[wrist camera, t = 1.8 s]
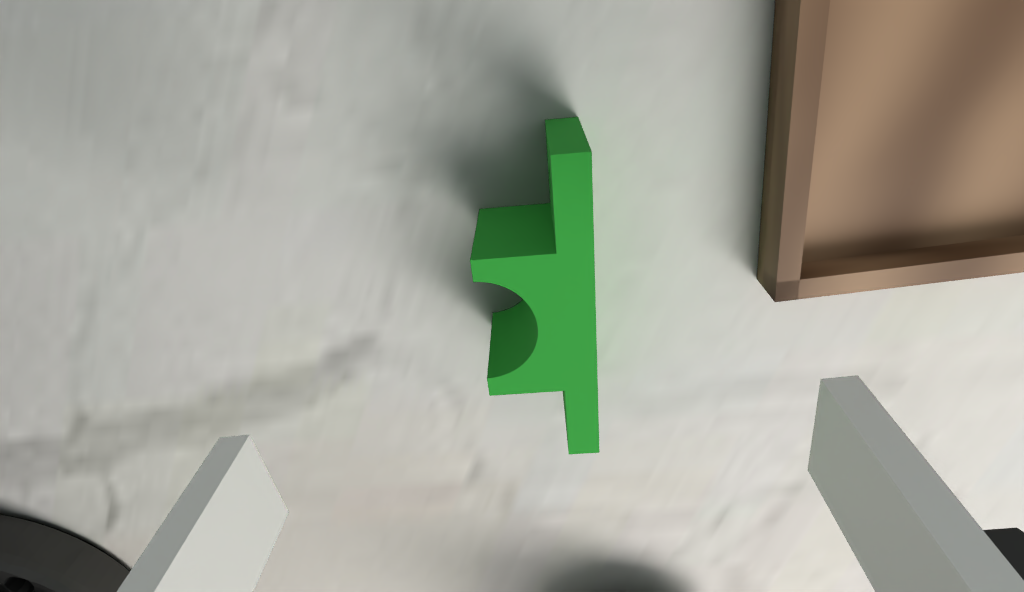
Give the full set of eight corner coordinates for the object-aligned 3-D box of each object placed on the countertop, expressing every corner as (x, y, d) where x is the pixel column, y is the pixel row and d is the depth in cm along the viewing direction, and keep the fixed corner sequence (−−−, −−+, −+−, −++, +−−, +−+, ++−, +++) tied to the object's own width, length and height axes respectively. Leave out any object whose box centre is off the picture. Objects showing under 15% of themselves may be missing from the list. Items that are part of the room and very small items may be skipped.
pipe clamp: (469, 125, 20) (455, 161, 16) (577, 114, 19) (592, 149, 15) (502, 384, 25) (498, 461, 21) (587, 378, 25) (600, 455, 21)
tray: (756, 278, 22) (774, 302, 21) (795, -311, 14) (830, -347, 12) (1077, 239, 21) (1121, 260, 20) (1317, -420, 13) (1425, -473, 11)
